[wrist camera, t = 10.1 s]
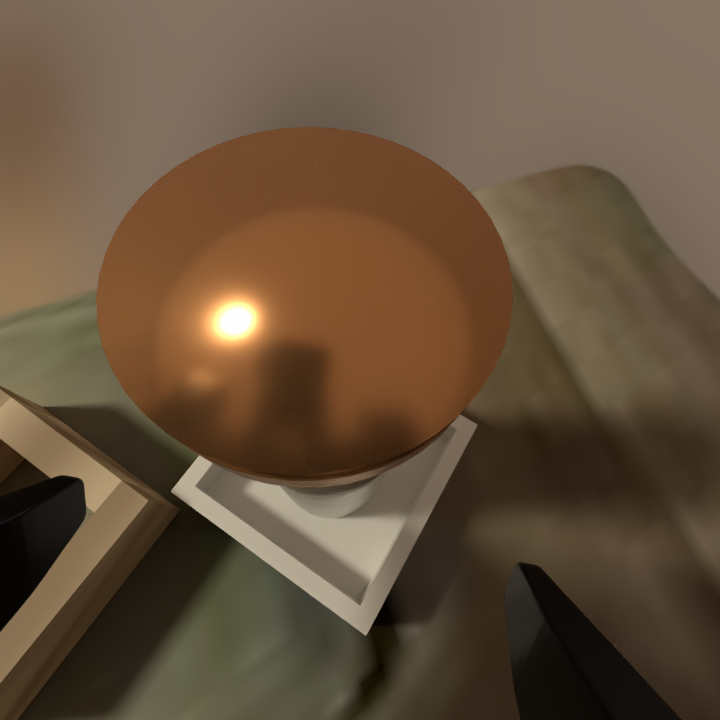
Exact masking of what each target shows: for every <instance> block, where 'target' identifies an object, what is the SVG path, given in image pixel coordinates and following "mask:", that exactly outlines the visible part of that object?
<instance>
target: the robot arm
mask: <svg viewBox="0 0 720 720" xmlns="http://www.w3.org/2000/svg"><path fill="white" fill-rule="evenodd" d="M85 515H86V499H85V488H84V482H83V481H82V479H80V478H77V477H72V476H67V475H59V476H56V477H53V478H51V479H48V480H45V481H42V482H39V483H37V484H34V485H31V486H28V487H25V488H22V489H20V490H17V491H14V492H11V493H8V494H5V495H3V496H0V632H1V631H2V630H3V628H4V627H5V626H6V625H7V624H8V622H9V621H10V620H11V619H12V618H13V616H14V615H15V614H16V613H17V612H18V610H19V609H20V608H21V607H22V606H23V604H24V603H25V602H26V601H27V599H28V598H29V597H30V596H31V594H32V593H33V592H34V591H35V589H36V588H37V586H38V585H39V584H40V582H41V581H42V580H43V578H44V577H45V575H46V574H47V573H48V571H49V570H50V568H51V567H52V565H53V564H54V562H55V561H56V560H57V558H58V557H59V555H60V554H61V552H62V551H63V550H64V548H65V547H66V545H67V544H68V542H69V541H70V540H71V538H72V537H73V535H74V534H75V532H76V531H77V529H78V528H79V527H80V525H81V524H82V522H83V520H84V518H85ZM504 604H505V613H506V622H507V631H508V640H509V649H510V658H511V667H512V675H513V683H514V690H515V695H516V701H517V706H518V710H519V715H520V720H681V718H680V717H679V716H678V715H677V714H676V713H675V712H674V711H673V710H672V709H671V708H670V707H669V706H668V704H667V703H666V702H665V701H664V700H663V699H662V698H661V697H660V696H659V695H658V694H657V693H656V691H655V690H654V689H653V688H652V687H651V686H650V685H649V684H648V683H647V682H646V681H645V680H644V679H643V677H642V676H641V675H640V674H639V673H638V672H637V671H636V670H635V669H634V668H633V667H632V666H631V665H630V663H629V662H628V661H627V660H626V659H625V658H624V657H623V656H622V655H621V654H620V653H619V652H618V651H617V649H616V648H615V647H614V646H613V645H612V644H611V643H610V642H609V641H608V640H607V639H606V638H605V637H604V635H603V634H602V633H601V632H600V631H599V630H598V629H597V628H596V627H595V626H594V625H593V624H592V623H591V621H590V620H589V619H588V618H587V617H586V616H585V615H584V614H583V613H582V612H581V611H580V610H579V608H578V607H577V606H576V605H575V604H574V603H573V602H572V601H571V600H570V599H569V598H568V597H567V596H566V594H565V593H564V592H563V591H562V590H561V589H560V588H559V587H558V586H557V585H556V584H555V583H554V582H553V580H552V579H551V578H550V577H549V576H548V575H547V574H546V573H545V572H544V571H543V570H542V569H541V568H540V567H539V566H537V565H533V564H527V563H522V562H519V563H517V564H516V565H515V567H514V570H513V572H512V575H511V578H510V581H509V584H508V586H507V589H506V592H505V600H504Z"/></svg>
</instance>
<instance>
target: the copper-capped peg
mask: <svg viewBox="0 0 720 720" xmlns="http://www.w3.org/2000/svg"><path fill="white" fill-rule="evenodd" d="M96 300H97V323H98V327H99V332H100V337H101V342H102V346H103V349H104V351H105V354H106V356H107V359H108V361H109V364H110V366H111V369H112V371H113V373H114V374H115V376H116V378H117V379H118V381H119V382H120V384H121V386H122V387H123V389H124V391H125V392H126V394H127V395H128V396H129V397H130V398H131V399H132V401H133V402H134V403H135V404H136V405H137V406H138V408H139V409H140V410H141V411H142V412H143V413H144V414H145V415H146V416H147V417H148V418H149V419H151V420H152V421H153V422H154V423H155V424H157V425H158V426H159V427H160V428H161V429H163V430H164V431H165V432H166V433H168V434H169V435H170V436H172V437H173V438H175V439H176V440H178V441H179V442H181V443H182V444H183V445H185V446H186V447H188V448H189V449H191V450H192V451H194V452H195V453H197V454H198V455H200V456H201V457H203V458H205V459H206V460H208V461H210V462H211V463H213V464H214V465H216V466H218V467H220V468H222V469H224V470H227V471H229V472H231V473H234V474H236V475H238V476H241V477H243V478H247V479H251V480H255V481H258V482H262V483H266V484H271V485H279V486H280V487H281V488H282V489H283V490H284V491H285V493H286V494H287V495H288V496H289V497H290V498H291V499H292V500H293V501H294V502H295V503H296V505H298V506H299V507H300V508H301V509H302V510H304V511H306V512H307V513H309V514H312V515H314V516H318V517H321V518H339V517H344V516H347V515H350V514H352V513H354V512H356V511H357V510H359V509H360V508H362V507H363V506H364V505H365V504H366V503H367V502H368V501H369V500H370V499H371V497H372V496H373V494H374V493H375V491H376V489H377V487H378V485H379V484H380V482H381V480H382V478H383V476H384V474H385V473H386V471H388V470H390V469H393V468H395V467H397V466H399V465H401V464H403V463H404V462H406V461H408V460H409V459H411V458H412V457H414V456H416V455H417V454H419V453H421V452H422V451H423V450H424V449H426V448H427V447H428V446H429V445H430V444H432V443H433V442H434V441H435V440H436V439H438V438H439V437H440V436H441V435H442V434H443V433H444V432H445V431H446V429H447V428H448V427H449V426H450V425H451V424H452V423H453V422H454V421H455V419H456V418H457V417H458V416H459V415H460V414H461V412H462V411H463V410H464V409H465V408H466V407H467V405H468V404H469V403H470V402H471V401H472V400H473V398H474V397H475V396H476V395H477V394H478V393H479V391H480V390H481V388H482V387H483V385H484V384H485V382H486V381H487V379H488V378H489V376H490V375H491V373H492V372H493V370H494V368H495V366H496V363H497V361H498V359H499V357H500V355H501V353H502V350H503V348H504V345H505V341H506V338H507V334H508V331H509V327H510V322H511V314H512V305H513V292H512V277H511V272H510V267H509V262H508V257H507V254H506V252H505V249H504V246H503V243H502V240H501V238H500V236H499V234H498V232H497V230H496V228H495V226H494V224H493V222H492V220H491V219H490V217H489V216H488V214H487V213H486V212H485V210H484V209H483V207H482V206H481V204H480V203H479V202H478V200H477V199H476V198H475V197H474V196H473V195H472V194H471V193H470V192H469V191H468V190H467V189H466V187H465V186H464V185H462V184H461V183H460V182H459V181H458V180H457V179H456V178H454V177H453V176H452V175H451V174H450V173H449V172H447V171H446V170H444V169H443V168H441V167H440V166H439V165H437V164H436V163H434V162H433V161H431V160H430V159H428V158H426V157H424V156H422V155H420V154H418V153H417V152H415V151H413V150H411V149H409V148H406V147H404V146H402V145H399V144H397V143H394V142H392V141H389V140H386V139H382V138H379V137H376V136H373V135H369V134H364V133H359V132H355V131H350V130H342V129H334V128H318V127H301V128H284V129H276V130H270V131H264V132H259V133H254V134H250V135H247V136H242V137H238V138H235V139H233V140H230V141H227V142H224V143H221V144H218V145H216V146H214V147H211V148H209V149H207V150H205V151H203V152H201V153H199V154H197V155H195V156H193V157H191V158H190V159H188V160H186V161H185V162H183V163H181V164H180V165H178V166H177V167H175V168H174V169H172V170H171V171H170V172H168V173H167V174H166V175H164V176H163V177H162V178H160V179H159V180H158V181H157V182H156V183H155V184H154V185H152V186H151V187H150V188H149V189H148V190H147V191H146V192H145V193H144V194H143V195H142V196H141V197H140V198H139V199H138V201H137V202H136V203H135V204H134V205H133V207H132V208H131V209H130V210H129V211H128V213H127V214H126V216H125V217H124V219H123V220H122V222H121V224H120V225H119V227H118V228H117V230H116V232H115V234H114V236H113V238H112V240H111V242H110V244H109V247H108V249H107V251H106V253H105V257H104V261H103V264H102V268H101V271H100V274H99V281H98V290H97V298H96Z"/></svg>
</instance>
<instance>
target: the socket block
mask: <svg viewBox="0 0 720 720" xmlns="http://www.w3.org/2000/svg"><path fill="white" fill-rule="evenodd" d="M25 458H26V459H27V460H28V461H29V462H31V463H32V464H33V465H35V466H36V467H37V468H38V469H40V470H41V471H42V472H43V473H45V474H46V475H47V476H48V477H50V478H53V477H56V476H59V475H67V476H72V477H77V478H80V479H82V481H83V482H84V488H85V499H86V506H87V507H88V508H89V509H90V510H92V511H93V512H94V514H93V515H92V516H91V517H90V518H89V520H88V521H87V522H86V523H85V524H84V525H83V527H82V528H81V529H80V530H79V531H78V532H77V534H76V535H75V536H74V537H73V538H72V539H71V541H70V542H69V543H68V544H67V545H66V547H65V548H64V550H63V551H62V552H61V554H60V555H59V557H58V558H57V560H56V561H55V562H54V564H53V565H52V567H51V568H50V570H49V571H48V573H47V574H46V575H45V577H44V578H43V580H42V581H41V582H40V584H39V585H38V586H37V588H36V589H35V591H34V592H33V593H32V594H31V596H30V597H29V598H28V599H27V601H26V602H25V603H24V604H23V606H22V607H21V608H20V609H19V610H18V612H17V613H16V614H15V615H14V616H13V618H12V619H11V620H10V621H9V622H8V624H7V625H6V626H5V627H4V628H3V630H2V631H1V632H0V720H18V718H19V717H20V716H21V715H22V713H23V712H24V711H25V709H26V708H27V707H28V706H29V704H30V703H31V702H32V700H33V699H34V698H35V696H36V695H37V694H38V693H39V691H40V690H41V689H42V687H43V686H44V685H45V684H46V682H47V681H48V680H49V678H50V677H51V676H52V675H53V673H54V672H55V671H56V669H57V668H58V667H59V665H60V664H61V663H62V662H63V660H64V659H65V658H66V656H67V655H68V654H69V653H70V651H71V650H72V649H73V647H74V646H75V645H76V644H77V642H78V641H79V640H80V638H81V637H82V636H83V634H84V633H85V632H86V631H87V629H88V628H89V627H90V625H91V624H92V623H93V622H94V620H95V619H96V618H97V616H98V615H99V614H100V613H101V611H102V610H103V609H104V607H105V606H106V605H107V604H108V602H109V601H110V600H111V598H112V597H113V596H114V594H115V593H116V592H117V591H118V589H119V588H120V587H121V585H122V584H123V583H124V582H125V580H126V579H127V578H128V576H129V575H130V574H131V573H132V571H133V570H134V569H135V567H136V566H137V565H138V563H139V562H140V561H141V560H142V558H143V557H144V556H145V554H146V553H147V552H148V551H149V549H150V548H151V547H152V545H153V544H154V543H155V542H156V540H157V539H158V538H159V536H160V535H161V534H162V533H163V531H164V530H165V529H166V527H167V526H168V525H169V523H170V522H171V521H172V520H173V518H174V517H175V516H176V514H177V513H178V512H179V511H180V509H179V508H178V507H176V506H175V505H174V504H172V503H171V502H170V501H168V500H167V499H166V498H164V497H163V496H162V495H160V494H159V493H158V492H156V491H155V490H153V489H152V488H151V487H149V486H148V485H147V484H145V483H144V482H143V481H141V480H140V479H139V478H137V477H136V476H135V475H133V474H132V473H131V472H129V471H128V470H127V469H125V468H124V467H123V466H121V465H120V464H119V463H117V462H116V461H114V460H113V459H112V458H110V457H109V456H108V455H106V454H105V453H104V452H102V451H101V450H100V449H98V448H97V447H96V446H94V445H93V444H92V443H90V442H89V441H88V440H86V439H85V438H84V437H82V436H81V435H80V434H78V433H77V432H75V431H74V430H73V429H71V428H70V427H69V426H67V425H66V424H65V423H63V422H62V421H61V420H59V419H58V418H57V417H55V416H54V415H53V414H51V413H50V412H49V411H47V410H46V409H45V408H43V407H42V406H40V405H38V404H36V403H34V402H32V401H30V400H28V399H26V398H24V397H22V396H19V395H17V394H15V393H13V392H11V391H9V390H7V389H5V388H3V387H1V386H0V484H1V483H2V482H3V481H4V480H5V479H6V478H7V477H8V476H9V475H10V474H11V473H12V472H13V470H14V469H15V468H16V467H17V466H18V465H19V464H20V463H21V462H22V461H23V460H24V459H25Z"/></svg>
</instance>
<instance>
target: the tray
mask: <svg viewBox="0 0 720 720" xmlns="http://www.w3.org/2000/svg"><path fill="white" fill-rule="evenodd" d="M476 427H477V424H475V423H474V422H472V421H470V420H469V419H467V418H465V417H464V416H462V415H459V416H458V417H457V418H456V419H455V421H454V422H453V423H452V424H451V425H450V426H449V427H448V428H447V429H446V431H445V432H444V433H443V434H442V435H441V436H440V437H439V438H438V439H436V440H435V441H434V442H433V443H432V444H430V445H429V446H428V447H427V448H426V449H424V450H423V451H422V452H421V453H419V454H417V455H416V456H414V457H412V458H411V459H409V460H408V461H406V462H404V463H403V464H401V465H399V466H397V467H395V468H393V469H390V470H388V471H386V473H385V474H384V476H383V478H382V480H381V482H380V484H379V485H378V487H377V489H376V491H375V493H374V494H373V496H372V497H371V499H370V500H369V501H368V502H367V503H366V504H365V505H364V506H363V507H362V508H360V509H359V510H357V511H356V512H354V513H352V514H350V515H347V516H344V517H339V518H321V517H318V516H314V515H312V514H309V513H307V512H306V511H304V510H302V509H301V508H300V507H299V506H298V505H296V503H295V502H294V501H293V500H292V499H291V498H290V497H289V496H288V495H287V494H286V493H285V491H284V490H283V489H282V488H281V487H280V486H279V485H271V484H266V483H262V482H258V481H255V480H251V479H247V478H243V477H241V476H238V475H236V474H234V473H231V472H229V471H227V470H224V469H222V468H220V467H218V466H216V465H214V464H213V463H211V462H210V461H208V460H206V459H205V458H203V457H201V456H200V455H199V456H198V458H197V459H196V460H195V461H194V463H193V464H192V465H191V466H190V468H189V469H188V470H187V471H186V473H185V474H184V475H183V476H182V478H181V479H180V480H179V481H178V483H177V484H176V485H175V486H174V488H173V489H172V490H171V491H170V492H172V493H173V494H174V495H176V496H177V497H178V498H180V499H181V500H183V501H184V502H185V503H187V504H188V505H189V506H191V507H192V508H193V509H195V510H196V511H197V512H199V513H200V514H202V515H203V516H204V517H206V518H207V519H208V520H210V521H211V522H212V523H214V524H215V525H216V526H218V527H219V528H221V529H222V530H223V531H225V532H226V533H227V534H229V535H230V536H231V537H233V538H234V539H235V540H237V541H238V542H240V543H241V544H242V545H244V546H245V547H246V548H248V549H249V550H250V551H252V552H253V553H254V554H256V555H257V556H259V557H260V558H261V559H263V560H264V561H265V562H267V563H268V564H269V565H271V566H272V567H273V568H275V569H276V570H277V571H279V572H280V573H282V574H283V575H284V576H286V577H287V578H288V579H290V580H291V581H292V582H294V583H295V584H296V585H298V586H299V587H301V588H302V589H303V590H305V591H306V592H307V593H309V594H310V595H311V596H313V597H314V598H315V599H317V600H318V601H320V602H321V603H322V604H324V605H325V606H326V607H328V608H329V609H330V610H332V611H333V612H334V613H336V614H337V615H339V616H340V617H341V618H343V619H344V620H345V621H347V622H348V623H349V624H351V625H352V626H353V627H355V628H356V629H358V630H359V631H360V632H362V633H363V634H364V635H367V633H368V631H369V630H370V628H371V626H372V624H373V622H374V620H375V618H376V616H377V614H378V613H379V611H380V609H381V607H382V605H383V603H384V601H385V599H386V597H387V596H388V594H389V592H390V590H391V588H392V586H393V584H394V582H395V580H396V579H397V577H398V575H399V573H400V571H401V569H402V567H403V565H404V563H405V561H406V560H407V558H408V556H409V554H410V552H411V550H412V548H413V546H414V544H415V543H416V541H417V539H418V537H419V535H420V533H421V531H422V529H423V527H424V526H425V524H426V522H427V520H428V518H429V516H430V514H431V512H432V510H433V509H434V507H435V505H436V503H437V501H438V499H439V497H440V495H441V493H442V492H443V490H444V488H445V486H446V484H447V482H448V480H449V478H450V476H451V475H452V473H453V471H454V469H455V467H456V465H457V463H458V461H459V459H460V458H461V456H462V454H463V452H464V450H465V448H466V446H467V444H468V442H469V440H470V439H471V437H472V435H473V433H474V431H475V429H476Z"/></svg>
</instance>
